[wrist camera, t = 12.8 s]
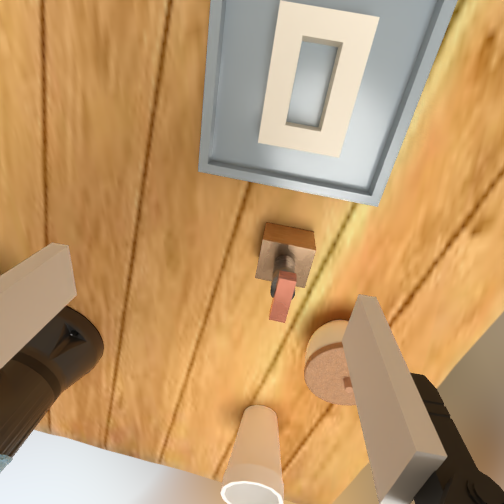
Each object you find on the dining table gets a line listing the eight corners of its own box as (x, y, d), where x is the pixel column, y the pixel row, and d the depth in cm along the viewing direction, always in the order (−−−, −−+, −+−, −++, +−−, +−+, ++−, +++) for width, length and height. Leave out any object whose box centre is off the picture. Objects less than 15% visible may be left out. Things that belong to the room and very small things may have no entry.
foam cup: (227, 418, 58) (211, 498, 47) (248, 392, 54) (235, 473, 43) (271, 437, 59) (265, 519, 48) (294, 413, 55) (295, 497, 44)
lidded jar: (388, 349, 45) (408, 406, 37) (321, 368, 49) (326, 424, 41) (360, 296, 42) (376, 347, 33) (290, 321, 45) (289, 373, 37)
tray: (203, 166, 36) (198, 171, 34) (223, -67, 26) (216, -81, 24) (372, 199, 35) (377, 206, 33) (456, -27, 25) (471, -38, 23)
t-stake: (259, 257, 41) (247, 315, 30) (266, 222, 38) (255, 272, 28) (303, 266, 40) (306, 328, 30) (313, 231, 38) (320, 285, 27)
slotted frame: (281, 10, 27) (280, 0, 24) (370, 25, 27) (379, 17, 24) (261, 137, 33) (257, 142, 30) (334, 151, 32) (339, 157, 29)
